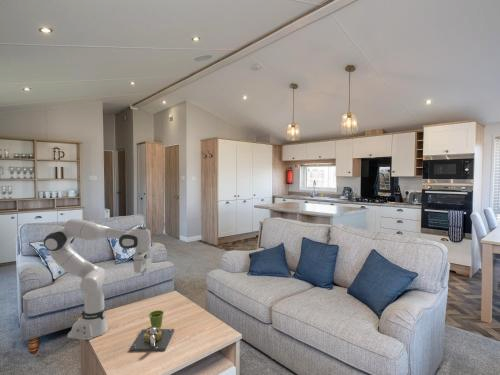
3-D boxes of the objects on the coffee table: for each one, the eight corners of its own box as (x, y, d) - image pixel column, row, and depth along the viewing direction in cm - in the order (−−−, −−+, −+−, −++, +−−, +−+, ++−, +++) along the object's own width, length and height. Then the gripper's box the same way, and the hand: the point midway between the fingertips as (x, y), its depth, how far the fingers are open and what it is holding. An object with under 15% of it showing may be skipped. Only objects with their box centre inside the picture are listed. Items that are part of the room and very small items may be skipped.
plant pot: (159, 331, 184) (159, 317, 183) (146, 329, 185) (145, 316, 185) (166, 323, 193) (166, 310, 192) (153, 322, 195) (153, 309, 194)
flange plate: (129, 351, 163) (129, 337, 163) (142, 331, 183) (142, 320, 183) (165, 350, 163) (165, 337, 163) (174, 331, 183) (174, 319, 183)
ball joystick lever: (144, 334, 176) (144, 324, 176) (161, 331, 179) (161, 322, 179) (143, 349, 161) (142, 338, 161) (161, 346, 164) (161, 335, 164)
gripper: (144, 248, 190) (144, 269, 191) (131, 257, 170) (131, 281, 170) (154, 248, 190) (154, 269, 190) (142, 257, 170) (142, 281, 170)
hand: (143, 275), depth 180 cm, fingers closed
